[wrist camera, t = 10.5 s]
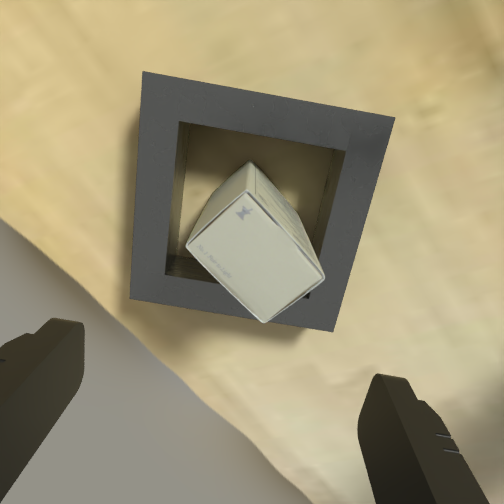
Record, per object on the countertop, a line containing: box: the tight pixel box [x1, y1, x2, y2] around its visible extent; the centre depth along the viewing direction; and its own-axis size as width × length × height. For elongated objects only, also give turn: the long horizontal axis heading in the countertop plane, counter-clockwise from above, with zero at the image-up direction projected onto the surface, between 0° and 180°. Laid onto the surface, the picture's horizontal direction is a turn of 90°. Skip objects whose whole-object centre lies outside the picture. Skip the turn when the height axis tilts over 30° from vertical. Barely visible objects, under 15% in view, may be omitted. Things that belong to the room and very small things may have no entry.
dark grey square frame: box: [130, 71, 395, 332], centre depth 27 cm, size 16×16×4 cm
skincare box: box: [186, 160, 325, 323], centre depth 24 cm, size 6×4×12 cm
